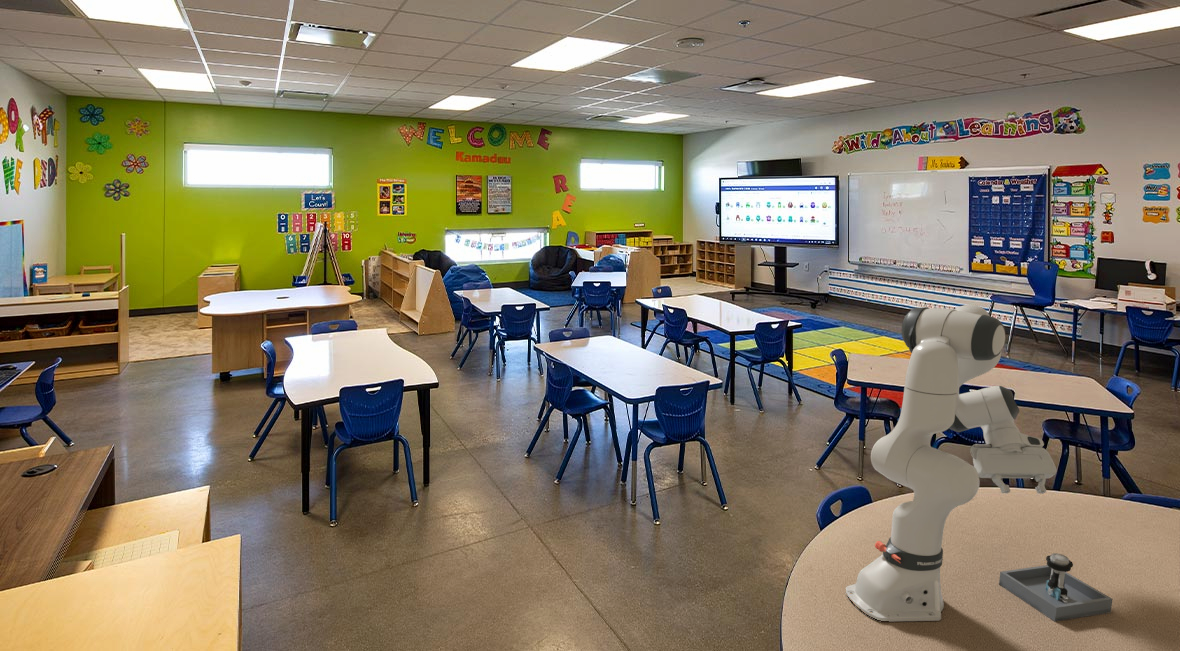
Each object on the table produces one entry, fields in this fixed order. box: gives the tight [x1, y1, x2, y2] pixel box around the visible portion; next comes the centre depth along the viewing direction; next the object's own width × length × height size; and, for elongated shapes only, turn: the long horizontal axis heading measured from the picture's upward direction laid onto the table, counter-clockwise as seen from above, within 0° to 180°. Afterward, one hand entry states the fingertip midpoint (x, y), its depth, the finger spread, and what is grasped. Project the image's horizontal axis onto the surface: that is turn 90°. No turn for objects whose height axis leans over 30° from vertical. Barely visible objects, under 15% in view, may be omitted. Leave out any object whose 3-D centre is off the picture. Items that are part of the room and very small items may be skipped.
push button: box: [1045, 552, 1074, 603], centre depth 162 cm, size 7×5×10 cm
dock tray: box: [998, 564, 1114, 622], centre depth 164 cm, size 16×16×4 cm
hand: (1024, 492), depth 176 cm, fingers open, 8 cm apart
